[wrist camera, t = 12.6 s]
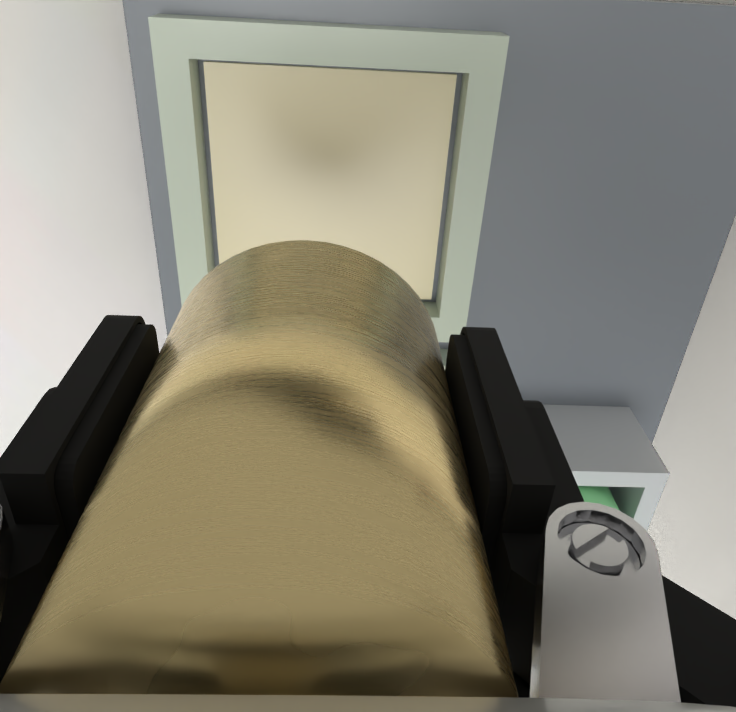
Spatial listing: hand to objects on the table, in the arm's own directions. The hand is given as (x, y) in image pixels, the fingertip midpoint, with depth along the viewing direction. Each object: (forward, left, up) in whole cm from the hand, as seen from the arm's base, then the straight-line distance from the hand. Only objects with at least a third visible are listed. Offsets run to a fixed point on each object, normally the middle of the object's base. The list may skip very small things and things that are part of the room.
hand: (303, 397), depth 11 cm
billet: (0, 0, -1) cm, 1 cm away
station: (-4, +6, -13) cm, 15 cm away
